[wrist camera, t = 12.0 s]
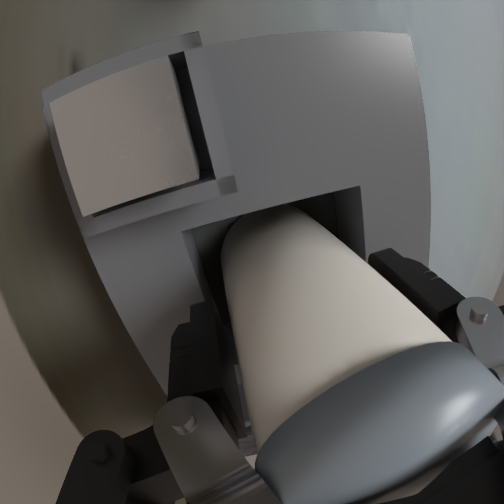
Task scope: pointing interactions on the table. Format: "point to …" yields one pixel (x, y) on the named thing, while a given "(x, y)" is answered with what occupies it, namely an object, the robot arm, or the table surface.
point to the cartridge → (343, 368)
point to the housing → (263, 163)
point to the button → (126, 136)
